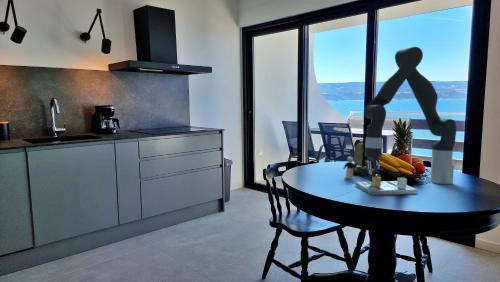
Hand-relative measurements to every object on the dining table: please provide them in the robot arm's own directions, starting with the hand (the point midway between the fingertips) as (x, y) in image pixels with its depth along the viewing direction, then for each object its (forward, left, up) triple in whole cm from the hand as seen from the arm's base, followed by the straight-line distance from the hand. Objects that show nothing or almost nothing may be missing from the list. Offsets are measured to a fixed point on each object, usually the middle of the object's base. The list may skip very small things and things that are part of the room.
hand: (372, 182), depth 160 cm
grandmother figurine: (+3, -21, -3) cm, 21 cm away
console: (-5, +3, -3) cm, 7 cm away
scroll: (-9, -34, -4) cm, 35 cm away
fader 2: (-10, +9, -1) cm, 13 cm away
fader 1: (0, +4, -1) cm, 4 cm away
